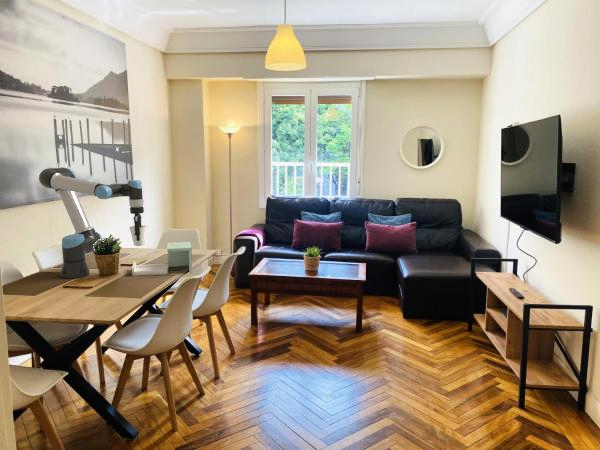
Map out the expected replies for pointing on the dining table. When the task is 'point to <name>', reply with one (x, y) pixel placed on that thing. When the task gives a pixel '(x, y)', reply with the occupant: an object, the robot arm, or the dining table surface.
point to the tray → (149, 269)
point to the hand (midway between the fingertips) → (139, 244)
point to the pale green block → (180, 254)
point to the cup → (142, 233)
